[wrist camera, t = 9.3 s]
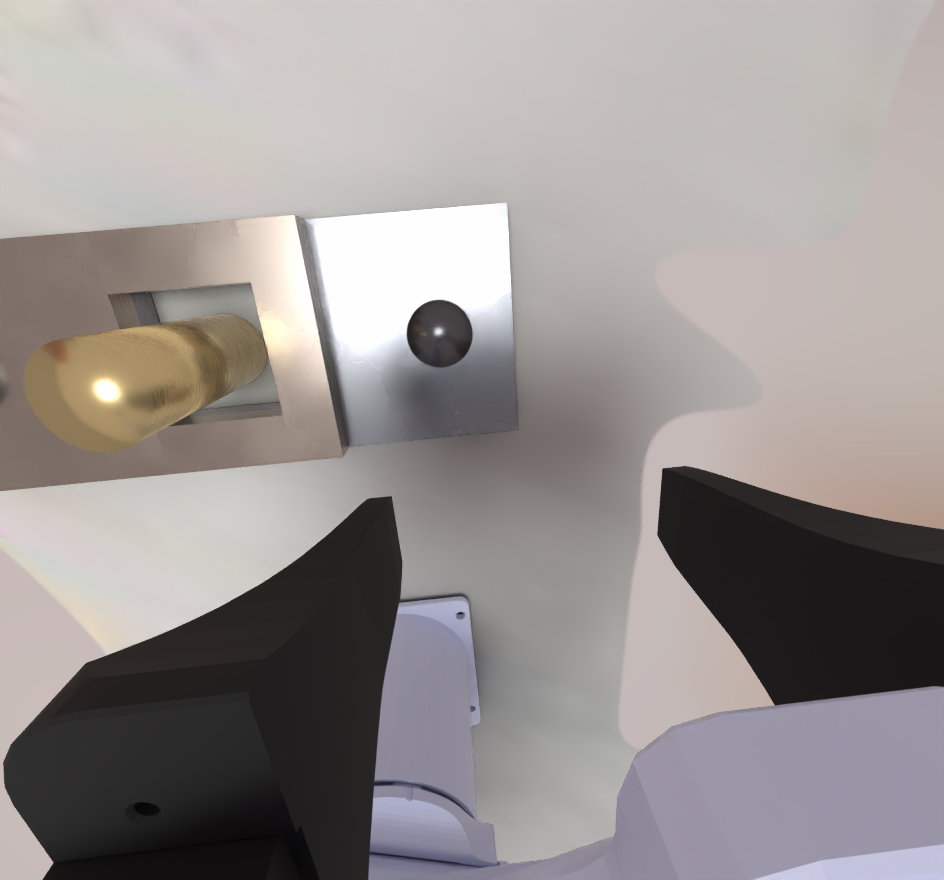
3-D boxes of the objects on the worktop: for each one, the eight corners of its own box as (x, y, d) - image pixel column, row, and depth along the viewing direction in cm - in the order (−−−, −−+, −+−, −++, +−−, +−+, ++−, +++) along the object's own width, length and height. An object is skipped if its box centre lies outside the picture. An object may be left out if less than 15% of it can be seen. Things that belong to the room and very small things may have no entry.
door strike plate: (503, 207, 17) (514, 193, 15) (513, 421, 21) (525, 444, 18) (-121, 259, 17) (-235, 255, 14) (-11, 473, 20) (-86, 505, 17)
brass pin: (272, 384, 19) (165, 450, 12) (202, 385, 19) (47, 454, 12) (260, 313, 18) (135, 337, 11) (185, 314, 18) (4, 338, 11)
